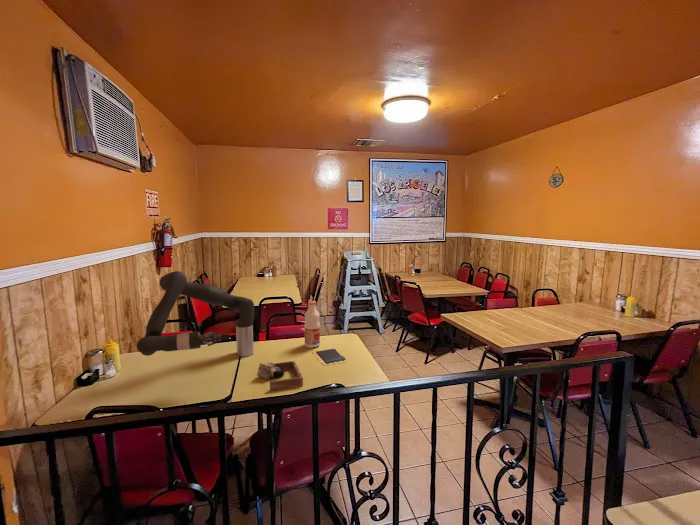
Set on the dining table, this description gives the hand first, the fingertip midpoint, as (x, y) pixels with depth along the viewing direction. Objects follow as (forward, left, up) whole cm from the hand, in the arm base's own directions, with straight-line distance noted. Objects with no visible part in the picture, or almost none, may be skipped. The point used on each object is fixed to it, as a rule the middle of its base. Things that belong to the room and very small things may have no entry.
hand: (229, 336), depth 161 cm
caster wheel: (-2, +20, -24) cm, 31 cm away
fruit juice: (-34, +49, -24) cm, 64 cm away
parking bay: (+4, +24, -23) cm, 34 cm away
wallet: (-14, +54, -24) cm, 61 cm away
